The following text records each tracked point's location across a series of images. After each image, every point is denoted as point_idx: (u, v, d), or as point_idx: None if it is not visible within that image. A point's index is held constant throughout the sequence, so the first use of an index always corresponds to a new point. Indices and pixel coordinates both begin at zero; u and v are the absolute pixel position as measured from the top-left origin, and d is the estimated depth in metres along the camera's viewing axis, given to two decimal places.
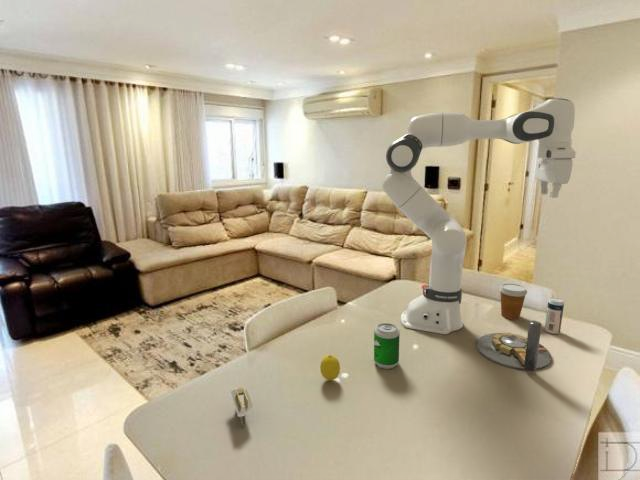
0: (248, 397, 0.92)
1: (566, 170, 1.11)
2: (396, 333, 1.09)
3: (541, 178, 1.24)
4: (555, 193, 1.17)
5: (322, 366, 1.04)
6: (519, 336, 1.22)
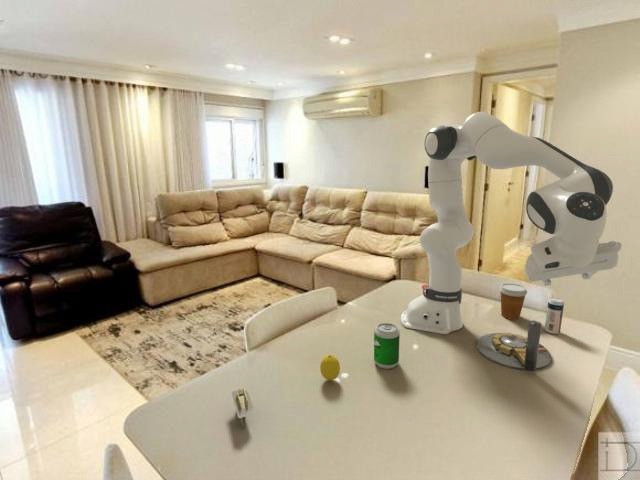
0: (248, 398, 0.92)
1: (529, 270, 0.96)
2: (396, 333, 1.09)
3: None
4: None
5: (322, 366, 1.04)
6: (519, 336, 1.22)
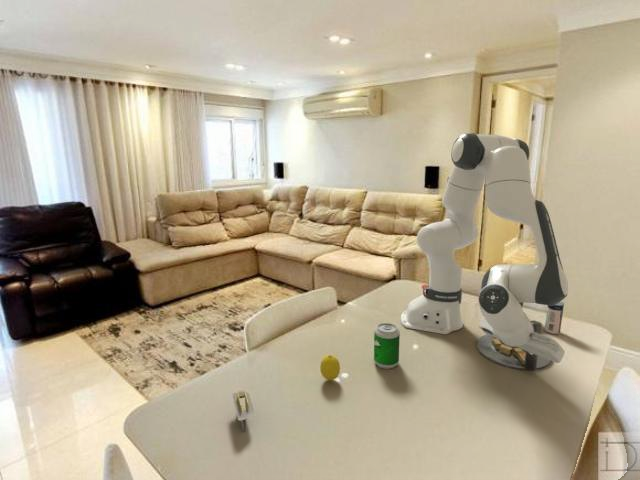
0: (249, 400, 0.91)
1: None
2: (396, 333, 1.09)
3: None
4: None
5: (322, 366, 1.04)
6: None
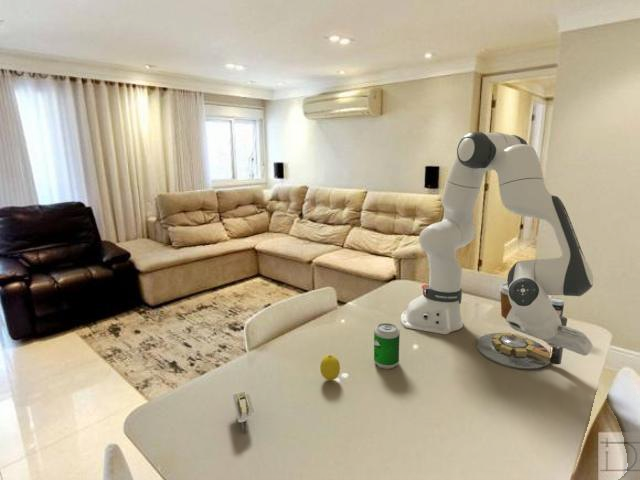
0: (250, 402, 0.90)
1: None
2: (396, 333, 1.09)
3: None
4: None
5: (322, 366, 1.04)
6: (506, 334, 1.23)
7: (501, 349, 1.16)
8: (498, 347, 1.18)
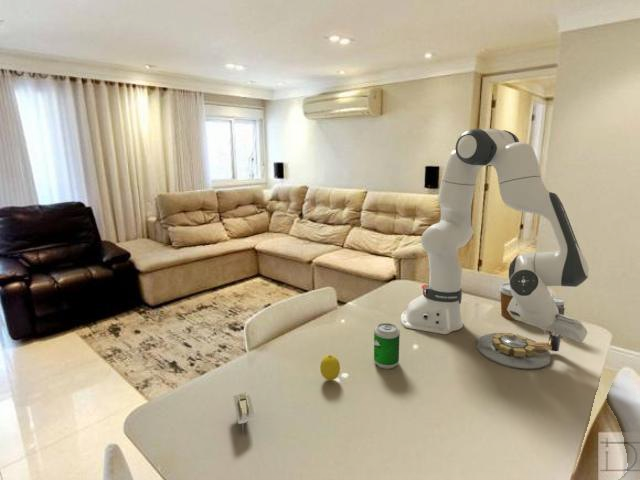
0: (250, 403, 0.90)
1: None
2: (396, 333, 1.09)
3: None
4: None
5: (322, 366, 1.04)
6: (497, 336, 1.22)
7: (516, 353, 1.13)
8: (509, 352, 1.15)
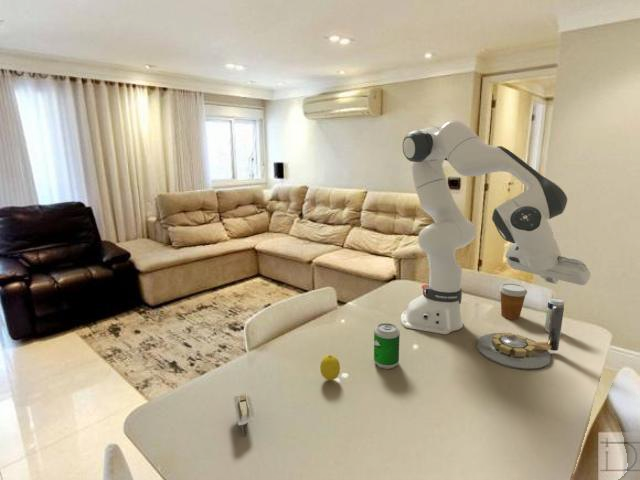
0: (250, 404, 0.89)
1: None
2: (396, 333, 1.09)
3: None
4: None
5: (322, 366, 1.04)
6: (497, 336, 1.22)
7: (516, 353, 1.13)
8: (510, 352, 1.15)
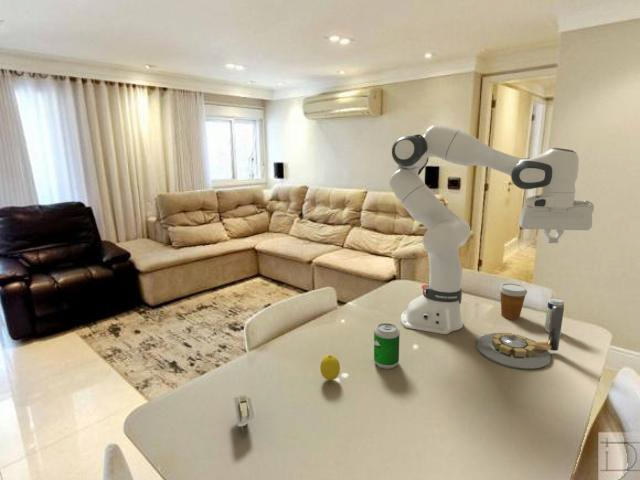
0: (250, 406, 0.89)
1: (522, 216, 1.21)
2: (396, 333, 1.09)
3: None
4: (547, 238, 1.21)
5: (322, 366, 1.04)
6: (497, 336, 1.22)
7: (516, 353, 1.13)
8: (510, 352, 1.15)
